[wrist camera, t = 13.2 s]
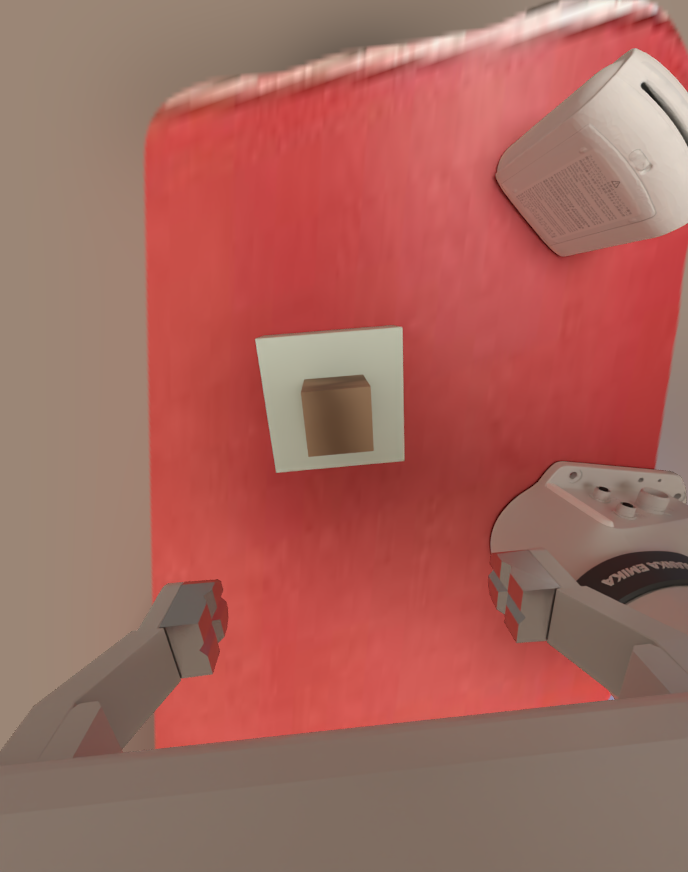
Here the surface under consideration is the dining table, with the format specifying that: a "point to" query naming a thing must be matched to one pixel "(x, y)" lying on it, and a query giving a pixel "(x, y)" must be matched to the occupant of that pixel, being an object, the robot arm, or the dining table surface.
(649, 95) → the white slotted box
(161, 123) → the dining table surface
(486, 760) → the robot arm
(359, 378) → the walnut cube
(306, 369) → the mint base block
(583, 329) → the dining table surface
